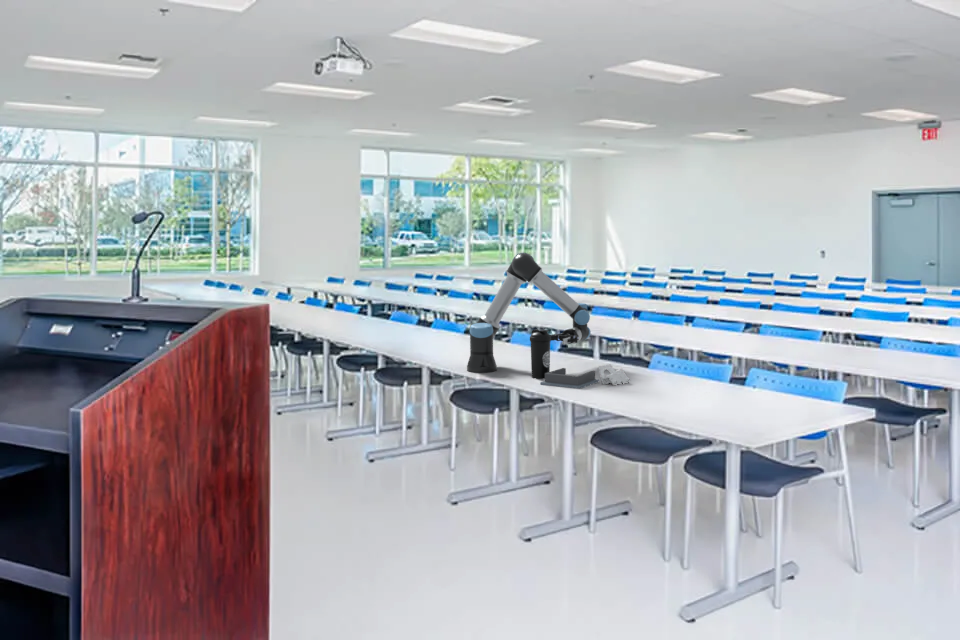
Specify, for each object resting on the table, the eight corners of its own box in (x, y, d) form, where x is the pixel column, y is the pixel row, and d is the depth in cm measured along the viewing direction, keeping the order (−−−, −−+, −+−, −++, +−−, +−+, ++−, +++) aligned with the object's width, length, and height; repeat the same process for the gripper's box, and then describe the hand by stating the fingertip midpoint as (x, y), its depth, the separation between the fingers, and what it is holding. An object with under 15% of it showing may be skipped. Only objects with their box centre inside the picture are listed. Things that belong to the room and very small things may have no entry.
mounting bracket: (622, 385, 371) (615, 363, 374) (631, 382, 367) (624, 359, 369) (604, 389, 364) (597, 366, 366) (613, 385, 359) (606, 362, 362)
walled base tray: (540, 384, 366) (540, 373, 366) (561, 377, 383) (561, 367, 382) (579, 388, 355) (579, 377, 355) (599, 381, 372) (599, 371, 371)
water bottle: (543, 380, 377) (543, 331, 375) (525, 377, 384) (525, 330, 381) (555, 376, 385) (555, 329, 383) (537, 374, 392) (537, 328, 389)
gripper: (593, 344, 402) (574, 350, 384) (550, 341, 416) (529, 347, 398) (593, 329, 401) (573, 334, 383) (549, 327, 415) (528, 332, 397)
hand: (551, 340), depth 391 cm, fingers open, 13 cm apart
